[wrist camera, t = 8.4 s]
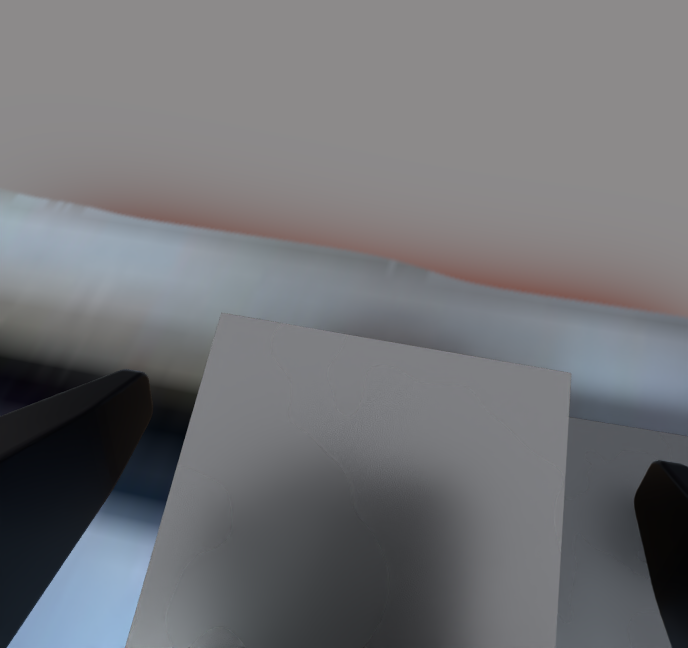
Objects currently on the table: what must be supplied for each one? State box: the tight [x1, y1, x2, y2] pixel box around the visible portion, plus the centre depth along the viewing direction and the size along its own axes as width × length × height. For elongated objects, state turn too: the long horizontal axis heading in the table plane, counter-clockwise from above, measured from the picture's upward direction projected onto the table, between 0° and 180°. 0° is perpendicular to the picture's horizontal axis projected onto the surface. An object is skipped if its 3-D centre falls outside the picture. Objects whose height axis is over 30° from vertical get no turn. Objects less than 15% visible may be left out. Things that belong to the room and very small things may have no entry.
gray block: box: [125, 313, 571, 648], centre depth 10 cm, size 4×4×12 cm
